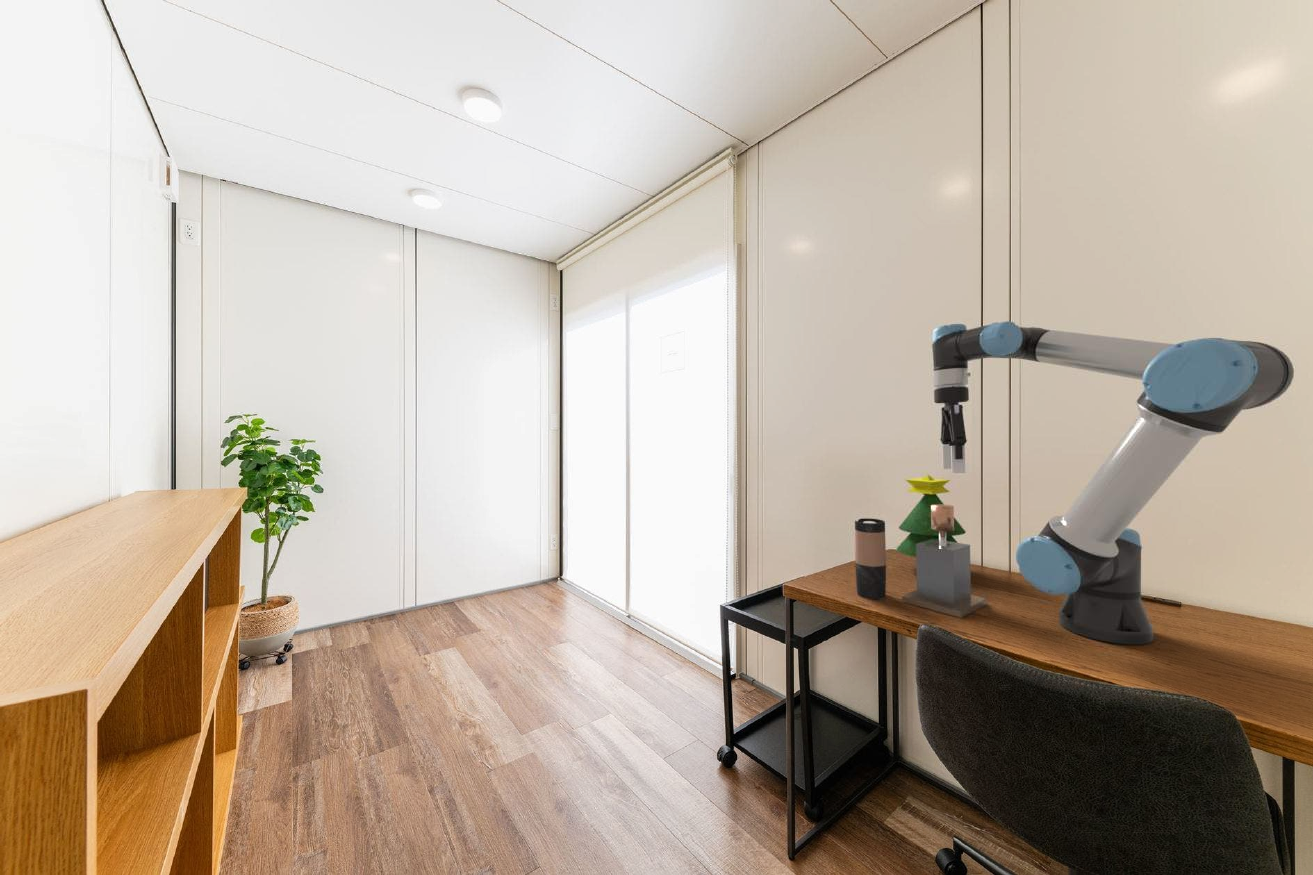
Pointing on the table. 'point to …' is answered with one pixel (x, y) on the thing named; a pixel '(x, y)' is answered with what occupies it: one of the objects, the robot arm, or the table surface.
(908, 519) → the decorative tree
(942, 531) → the plunger
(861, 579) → the travel mug
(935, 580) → the press housing
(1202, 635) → the table surface
